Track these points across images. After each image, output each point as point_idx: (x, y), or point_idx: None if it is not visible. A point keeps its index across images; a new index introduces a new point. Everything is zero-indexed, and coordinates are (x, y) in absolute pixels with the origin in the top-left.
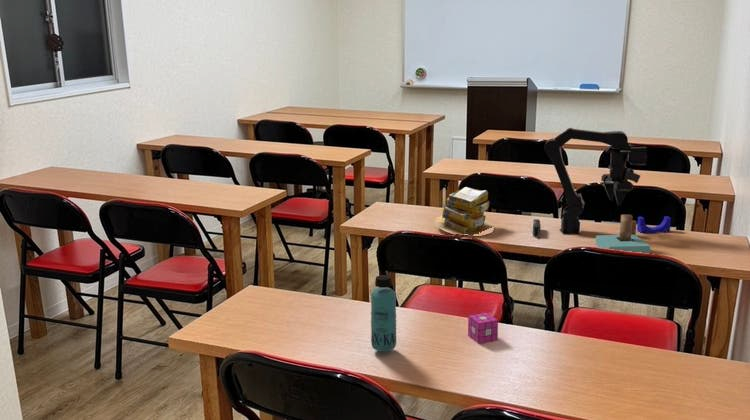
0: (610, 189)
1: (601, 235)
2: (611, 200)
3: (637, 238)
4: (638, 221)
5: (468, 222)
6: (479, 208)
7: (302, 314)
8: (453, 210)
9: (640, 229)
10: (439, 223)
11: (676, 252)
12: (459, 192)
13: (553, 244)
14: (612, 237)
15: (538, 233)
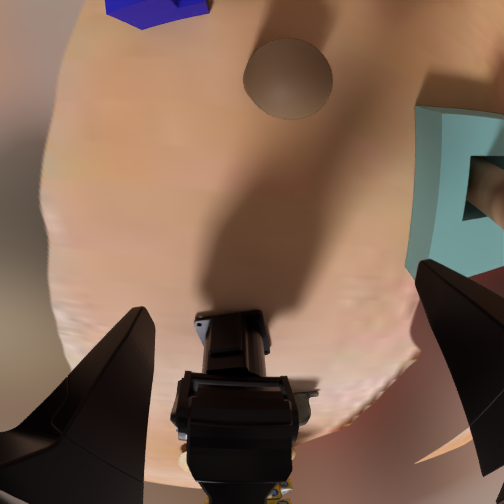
0: (115, 449)
1: None
2: (150, 317)
3: (489, 129)
4: (136, 13)
5: None
6: (274, 493)
7: (470, 432)
8: None
9: (194, 10)
10: None
11: (497, 10)
12: None
13: (375, 363)
14: (460, 233)
15: (307, 403)
